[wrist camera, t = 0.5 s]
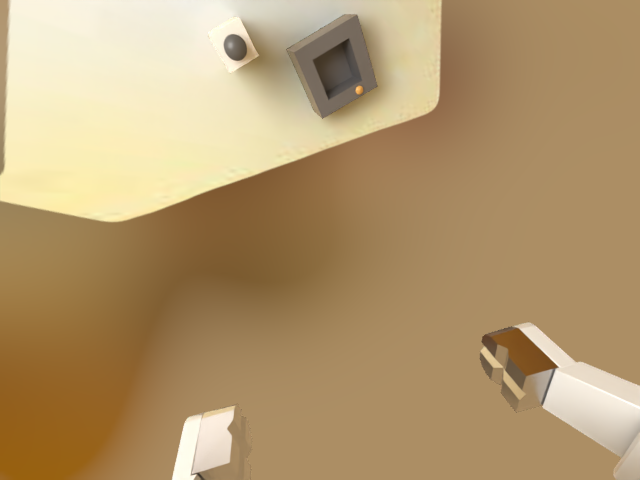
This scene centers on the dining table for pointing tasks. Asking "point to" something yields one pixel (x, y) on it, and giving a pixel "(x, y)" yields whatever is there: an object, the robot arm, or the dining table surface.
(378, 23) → the dining table surface
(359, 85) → the socket block
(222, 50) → the plug
